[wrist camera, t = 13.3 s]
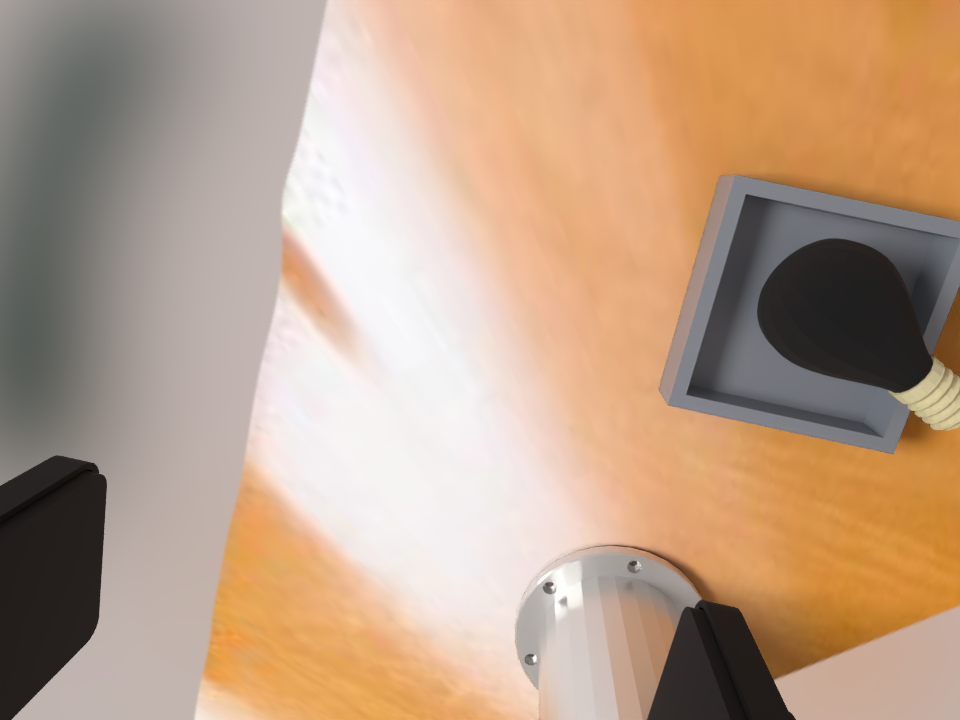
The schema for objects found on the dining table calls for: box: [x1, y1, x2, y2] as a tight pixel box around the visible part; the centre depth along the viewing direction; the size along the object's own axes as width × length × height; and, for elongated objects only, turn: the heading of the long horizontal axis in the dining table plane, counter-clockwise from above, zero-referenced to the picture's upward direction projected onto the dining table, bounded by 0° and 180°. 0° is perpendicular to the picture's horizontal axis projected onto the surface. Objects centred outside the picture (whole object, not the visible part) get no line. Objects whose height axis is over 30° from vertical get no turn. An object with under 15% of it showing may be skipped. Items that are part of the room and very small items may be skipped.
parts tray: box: [659, 175, 960, 454], centre depth 37 cm, size 13×13×3 cm
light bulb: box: [757, 238, 960, 430], centre depth 34 cm, size 7×7×12 cm
